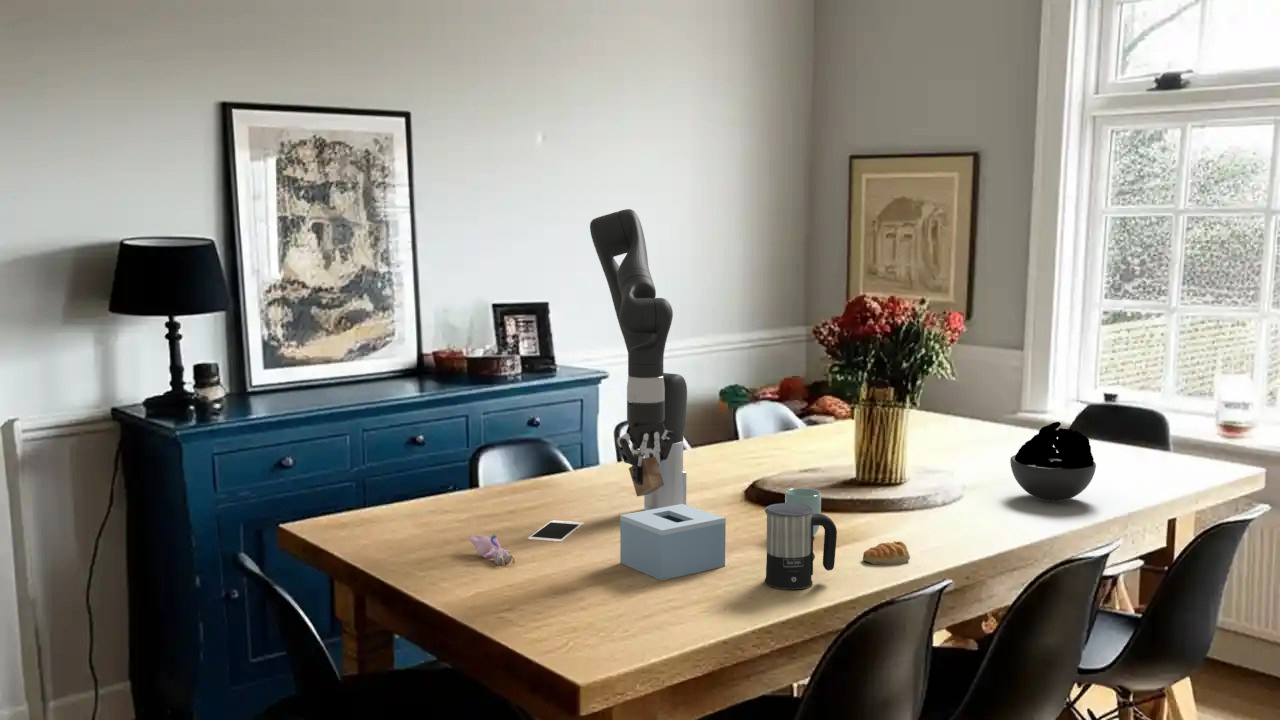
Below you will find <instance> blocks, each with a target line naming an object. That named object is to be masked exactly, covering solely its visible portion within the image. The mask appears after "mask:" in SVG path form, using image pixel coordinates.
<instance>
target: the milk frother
mask: <svg viewBox="0 0 1280 720" xmlns="http://www.w3.org/2000/svg"><path fill="white" fill-rule="evenodd" d="M812 511H813V508H812V507H810V506H807V505H802V504H796V503H785V502H781V503H774V504H769V505H768V506H766V507H765V509H764V512H765V514H766V566H765V567H766V569H765V578H764V584H765V585H767V586H768V587H771V588H773V589H774V588H775V589H777V590H791V591H793V590H796V591H797V590H803V589H807V588H810V587H811V586H812V585H813V583H814V582H813V580H812V576H813V575H814V561H815V558H816V556H815V553H814V536H813V526H815V525H819V527H822V528H823V529H824V537H823V552H822V553H823V554H822V566H823V568H824V569H825V570H826V571H832V570H833V569H834V568H835V560H836V548H837V539H838V538H837V536H838V535H837V534H838V531H837V526H836V524H835V523H834V521H833V520H832V519H831V518H830V517H829V516H828V515H826V514H823V513H821V514H811V512H812Z"/></svg>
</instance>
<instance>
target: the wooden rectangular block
mask: <svg viewBox="0 0 1280 720" xmlns="http://www.w3.org/2000/svg"><path fill="white" fill-rule="evenodd" d="M642 467H643V484H642V485H638V484H636V483H635V481H633V466H632V465H631V466H630V467H628V471H629V473H630V478H631V480H632V483H633V487H634V490H635V494H636V497H641V496H643V497H644V495H649V494H651V493H652V492H654V491H655V490H657V489H659V488H660V487H662V486H663V485H664V483H663V479H662V476H661V473H660V470H659V466H658V463H657V460H656V457H649V458H645V457H644V458H643V465H642Z"/></svg>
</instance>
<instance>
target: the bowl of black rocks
mask: <svg viewBox="0 0 1280 720" xmlns="http://www.w3.org/2000/svg"><path fill="white" fill-rule="evenodd" d="M1061 424H1062V423H1061V422H1060V421H1056V422H1052V423H1049V424H1047V425H1045V426H1042V427H1041V428H1040V429H1039V430H1038V434H1035V435H1033V437H1032V438H1031V439H1029V440H1027V441H1026V442H1025V443H1024V444H1022V445H1021V447H1020V448H1019V449H1018V451H1017V453H1016V454H1015V455H1012V456H1011V457H1010V459H1009V462H1010V468H1011V472H1012V474H1013V477H1014V479H1015V480H1016V482H1017V484H1018V485H1019V486H1020V487H1021V488H1022V489H1023V490H1024V492H1026V493H1028V494H1029V495H1031V496H1032V497H1035V498H1036V499H1039V500H1042V501H1046V502H1063V501H1064V502H1065V501H1066V500H1071V499H1072V498H1074V497H1076V496H1078V495H1080V494H1081V493H1082V492H1083V491H1084V490H1086V489H1087V488H1088V486H1089V485H1090V483H1091V482H1092V480H1093V478H1094V475H1095V472H1096V468H1097V463H1096V462H1095V461H1094V459H1095V458H1094V456H1093V453H1092V447H1091V444H1090V439H1089V438H1088V437H1087V436H1086V435H1084V434H1083V433H1081V432H1079V431H1078V430H1073V429H1070V428H1063V427H1060V426H1061Z"/></svg>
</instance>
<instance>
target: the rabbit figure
mask: <svg viewBox="0 0 1280 720" xmlns="http://www.w3.org/2000/svg"><path fill="white" fill-rule="evenodd" d="M467 539H468V540H469V541H470V543H471V544H472V545H473V546H474V547H476V553H477V554H478V555H479V556H480V557H483V558H484V559H489V558H492V559H493V561H494V563H495V565H497V566H502V567H504V566H506V565H507V564H510V562H511V561H512V562H511V564H512V565H513V566H515V564H516V560H515V557H514V556H513V554H511V550H509V549H504V548H502V547H501V544H500V542H499V540H498V538H497V534H492V535H491V536H490V537H489V536H487V535H485V534H478V535H475V536H468V537H467ZM506 567H507V566H506Z"/></svg>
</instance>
